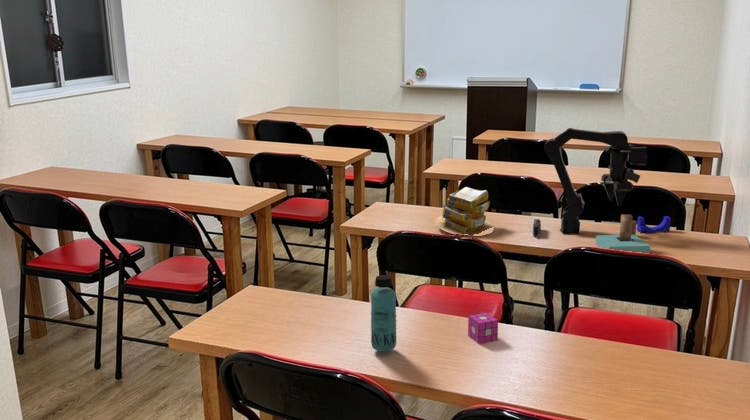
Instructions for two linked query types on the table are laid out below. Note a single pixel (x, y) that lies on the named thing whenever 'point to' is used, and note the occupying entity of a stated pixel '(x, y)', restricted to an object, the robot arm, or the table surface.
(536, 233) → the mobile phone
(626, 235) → the tall walnut pin
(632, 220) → the short walnut pin
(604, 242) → the teal hole plate
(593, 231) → the table surface
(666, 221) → the cable clip
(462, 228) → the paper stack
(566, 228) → the robot arm
